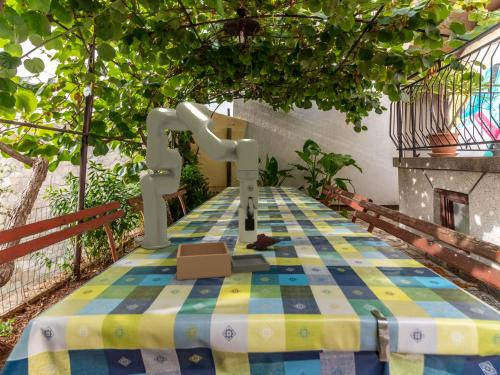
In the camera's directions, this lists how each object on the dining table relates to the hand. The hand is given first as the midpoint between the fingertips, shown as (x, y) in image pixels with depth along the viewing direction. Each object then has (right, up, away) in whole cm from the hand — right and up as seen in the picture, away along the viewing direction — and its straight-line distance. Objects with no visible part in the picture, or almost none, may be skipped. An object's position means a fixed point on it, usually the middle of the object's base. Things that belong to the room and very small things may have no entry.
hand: (248, 228), depth 109 cm
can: (0, -5, +1) cm, 5 cm away
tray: (0, -13, +1) cm, 13 cm away
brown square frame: (-15, -14, -2) cm, 20 cm away
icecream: (+6, -12, +22) cm, 26 cm away
